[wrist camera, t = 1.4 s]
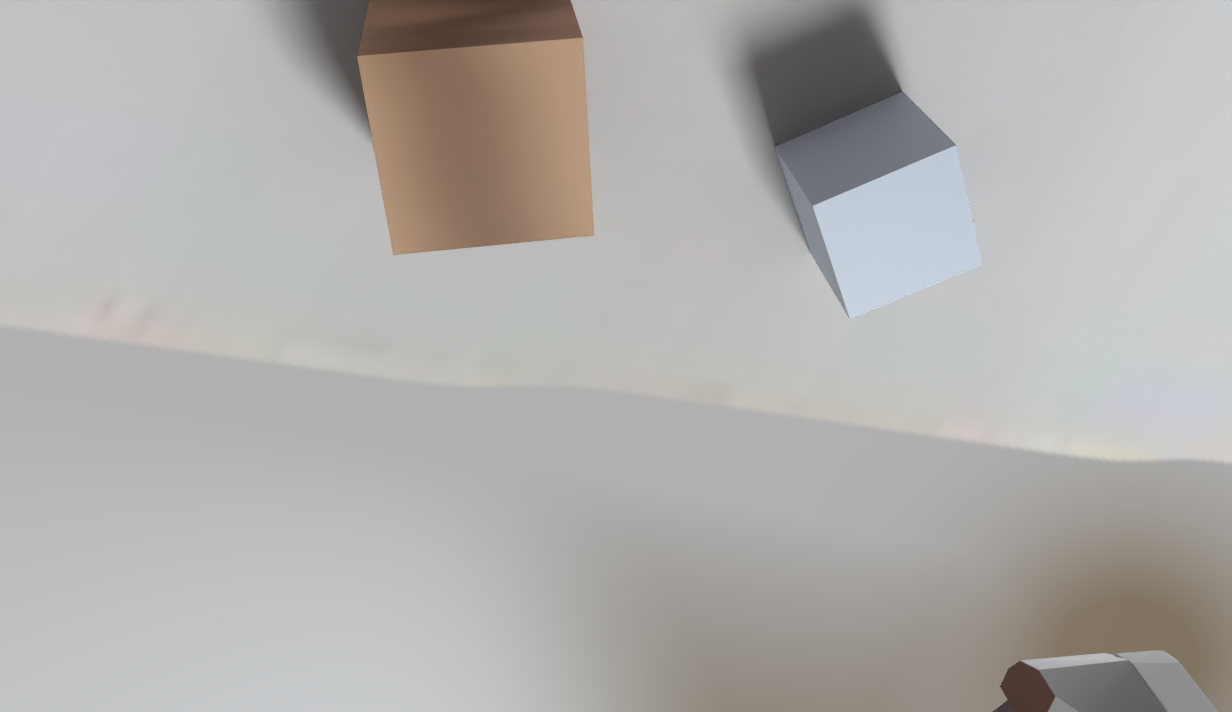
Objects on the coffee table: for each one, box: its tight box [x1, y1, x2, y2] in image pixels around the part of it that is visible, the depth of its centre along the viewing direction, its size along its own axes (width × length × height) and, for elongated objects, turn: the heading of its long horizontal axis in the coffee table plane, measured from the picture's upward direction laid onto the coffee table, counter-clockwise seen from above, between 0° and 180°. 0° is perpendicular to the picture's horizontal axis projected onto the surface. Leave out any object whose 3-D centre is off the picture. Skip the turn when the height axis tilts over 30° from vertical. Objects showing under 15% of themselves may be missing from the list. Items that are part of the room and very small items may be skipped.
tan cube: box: [357, 0, 594, 255], centre depth 27 cm, size 5×5×5 cm
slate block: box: [775, 91, 983, 319], centre depth 30 cm, size 4×4×4 cm
